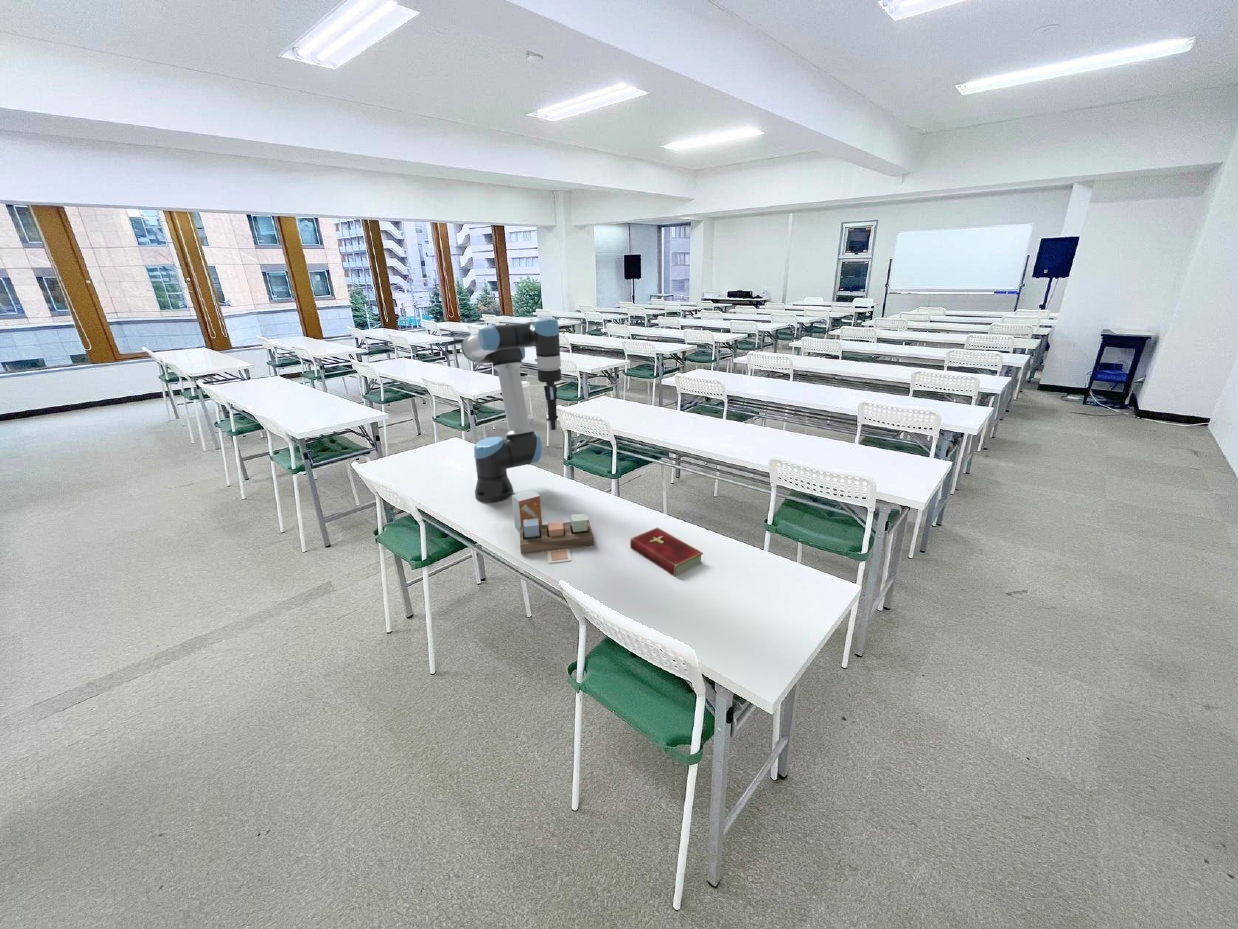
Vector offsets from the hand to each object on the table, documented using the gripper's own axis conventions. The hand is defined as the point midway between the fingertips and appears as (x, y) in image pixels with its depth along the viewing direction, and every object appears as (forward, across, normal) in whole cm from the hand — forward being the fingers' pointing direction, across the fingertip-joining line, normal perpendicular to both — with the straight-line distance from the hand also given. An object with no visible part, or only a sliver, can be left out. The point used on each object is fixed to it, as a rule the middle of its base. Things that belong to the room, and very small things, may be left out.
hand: (553, 437), depth 168 cm
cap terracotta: (+32, +13, -2) cm, 34 cm away
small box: (+33, +2, -11) cm, 34 cm away
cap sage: (+29, +13, +6) cm, 33 cm away
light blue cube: (+29, +13, -10) cm, 34 cm away
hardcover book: (+33, +30, +32) cm, 54 cm away
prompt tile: (+32, +23, -2) cm, 40 cm away
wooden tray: (+32, +13, -2) cm, 35 cm away
